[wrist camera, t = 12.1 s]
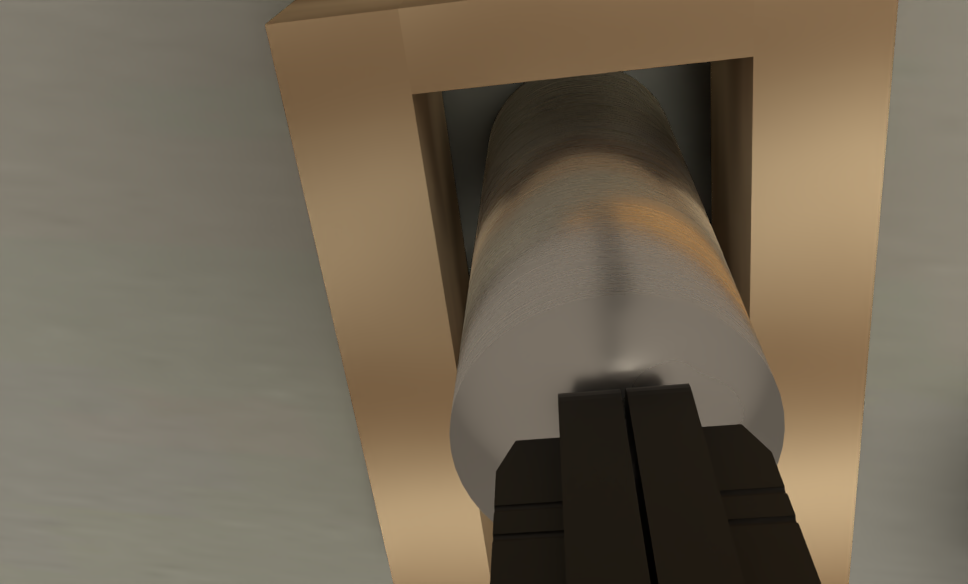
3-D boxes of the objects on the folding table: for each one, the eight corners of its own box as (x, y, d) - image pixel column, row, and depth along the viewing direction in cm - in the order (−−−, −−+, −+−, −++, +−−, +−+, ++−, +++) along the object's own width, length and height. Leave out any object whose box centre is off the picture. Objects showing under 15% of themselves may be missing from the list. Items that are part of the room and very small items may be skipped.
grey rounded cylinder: (477, 73, 19) (427, 309, 10) (671, 53, 19) (791, 281, 10) (498, 245, 21) (471, 570, 12) (674, 231, 20) (779, 555, 12)
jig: (316, -17, 18) (264, 24, 15) (827, -80, 17) (902, -53, 14) (428, 543, 25) (411, 663, 22) (797, 520, 24) (843, 641, 21)
